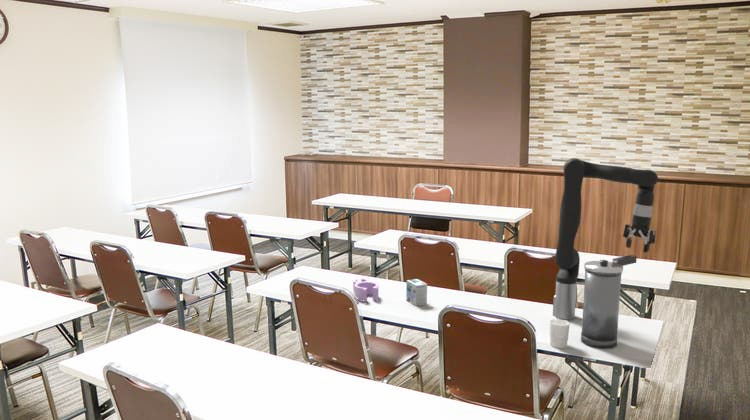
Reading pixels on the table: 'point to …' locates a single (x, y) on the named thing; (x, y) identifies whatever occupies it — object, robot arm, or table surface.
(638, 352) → the table surface
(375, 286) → the clip
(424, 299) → the light bulb box
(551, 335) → the white cup
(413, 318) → the table surface
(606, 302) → the canister
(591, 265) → the lid
